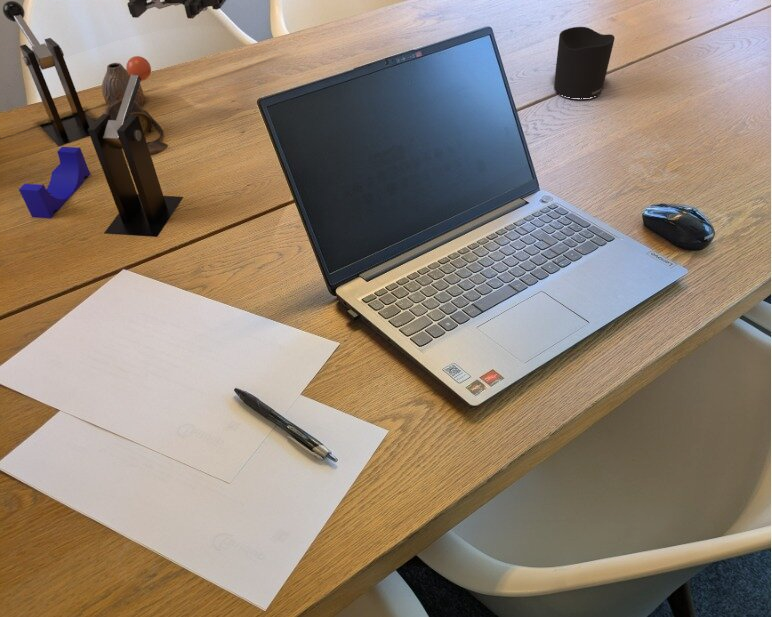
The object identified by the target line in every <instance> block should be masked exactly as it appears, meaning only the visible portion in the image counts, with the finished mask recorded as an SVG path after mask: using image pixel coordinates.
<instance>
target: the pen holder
mask: <svg viewBox="0 0 772 617" xmlns="http://www.w3.org/2000/svg"><path fill="white" fill-rule="evenodd" d="M615 39H616V38H615V35H613V34H604V33H603V34H602V33H600V32H598V31H595V30H593V29H592V28H589V27H587V26H574V27H573V26H572V27H569V28H566V29H563V30H562V31H560V33H559V37H558V44H557V55H556V63H555V72H554V82H553V84H554V85H553V89H554V91H555V90H556V91H555V93H556V92H557V93H559V94H560V95H563V96H566V97H570V98H580V99H581V98H582V99H583V98H590V97H594V96H597V95H598V94H599V95H601V94H602V92H601V91H603V88H604V84H605V80H606V76H607V72H608V68H609V64H610V60H611V55H612V51H613V47H614V42H615ZM557 93H556V94H557ZM560 95H559V96H560ZM599 95H598V96H599ZM598 96H597V97H598Z"/></svg>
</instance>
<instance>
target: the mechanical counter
mask: <svg viewBox="0 0 772 617" xmlns="http://www.w3.org/2000/svg"><path fill="white" fill-rule="evenodd" d="M122 100H123V98H122V99H119V100H116V101H114V102H113V103H112V104H110V106H109V107H108V106H107V108H106V110H105V112H104V114H110V116H111V119H112V120H116V119H117V116H118V113H119V109H120V106H121V103H122ZM131 115H138V116H139V119H140V123H141V126H142V129H143V132H144V133H151V131H152V128H153V127H154V128H155V129H156V130H157V131H158V133H159V134H160V135H159V137H158V138H157V139H155V140H152V141H146V142H147V145H148V148H149V151H150V155H151V156H154V155H157V154H160V153H162V152H163V151H165V150H166V149H167V148H168V144H167V143H165V142H162V141H163V139H164V130H163V129H162V127H161V125H160V124H159V123H158V122H157V121H156V119H154V117H153V116H152V115H150V114H149V112H148V111H147V110H145V109H143V106H140V105H139V104H138V103H137V102H136V101H134V104H133V107H132V110H131V113H130V116H131ZM130 116H129V117H130Z"/></svg>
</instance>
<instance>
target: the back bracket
mask: <svg viewBox="0 0 772 617" xmlns="http://www.w3.org/2000/svg"><path fill="white" fill-rule="evenodd" d="M44 43H45V44H46V46H47V47H48V49H49V50H50V52H51V53H52V55H53V58H54V62H55V66H54V69H55V71H56V74H57V76H58V78H59V81H60V84H61V86H62V89H63V91H64V94H65V96H66V99H67V102H68V104H69V107H70V110H71V112H72V114H71V115H68V116H65V117H63V118H61V117H60V114H59V112H58V109H57V106H56V104H55V101H54V99H53V96H52V93H51V91H50V89H49V86H48V84H47V82H46V79H45V76H44V74H43V72H42V69H41V67H40V66H39V64H38V61H37V59H36V56H35V54H34V52H33V51H32V48H31V47H29V46H28V45H27V44H21V45H19V48H20V51H21V54H22V55H23V56H22V61H23V63H24V65H25V67H27V68H28V70H29V73H30V76H31V78H32V80H33V82H34V85H35V86H36V87H35V88H36V91H37V92H38V95H39V97H40V100H41V102H42V104H43V107H44V109H45V112H46V114H47V116H48V119H49V122H46V123H43V124H40V125H39V126H40V128H41V129H42V130H43V132H45V134H46V135H48V137H49V138H50V139H51V140H52V141H53V142H54V144H55V145H56V146H57V147H58V148H59V147H63V146H64V145H68V144H71V143H73V142H76V141H80V140H82V139H85V138H89V137H90V135H89V132H88V129H89V128H90V127H91V126H92V125H93V124H94V123H95V120H93V119H92V118H91V117H90V116H89V115H88V114H87V113H86V112H85V111H84V107H83V105H82V103H81V100H80V98H79V95H78V92H77V89H76V87H75V84H74V81H73V78H72V76H71V73H70V71H69V68H68V66H67V63H66V60H65V57H64V55H65V54H64V51H63V49H62V48H61V46H60V45H59V43H57V42H56V41H55V40H53V39H52V38H51V37H48V38H44Z"/></svg>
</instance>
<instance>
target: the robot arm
mask: <svg viewBox="0 0 772 617" xmlns="http://www.w3.org/2000/svg"><path fill="white" fill-rule="evenodd" d="M147 1H149V0H128V2H127V3H126V4H127V8H128V12H129V15H131V17H132V18H133V19H137V18H139V17H141V16H142V15H143V14H145V12H146V11H148V10H149V9H152V8H156V9H158V10H161V9H164V8H168V7H171V6H175V7H176V6H180V5H182V6H184V11H185V15H186V17H187V19H194V18H196V16H198V15H199V14H200V13H201V12H206V11H208V9H209V7H211V8H212V10H215V11H216V10H220V9H221V8H222V7H223V6H224V4H225V3H226V1H227V0H162V1H161V0H151V1H149V2H147Z"/></svg>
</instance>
